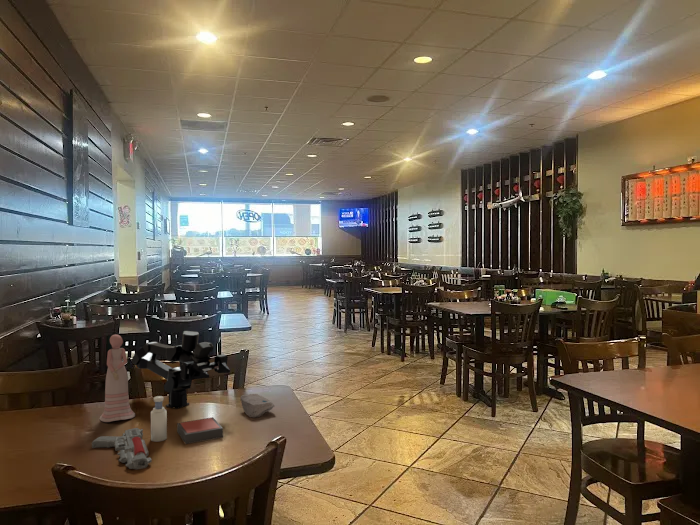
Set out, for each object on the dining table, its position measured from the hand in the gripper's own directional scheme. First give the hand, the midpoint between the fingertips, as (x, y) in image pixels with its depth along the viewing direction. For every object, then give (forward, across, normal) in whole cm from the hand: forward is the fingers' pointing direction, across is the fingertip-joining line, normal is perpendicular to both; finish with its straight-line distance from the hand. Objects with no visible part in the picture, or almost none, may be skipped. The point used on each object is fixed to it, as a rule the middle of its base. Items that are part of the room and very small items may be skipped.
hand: (219, 373), depth 184 cm
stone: (+7, +14, +16) cm, 22 cm away
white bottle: (+2, -24, +17) cm, 29 cm away
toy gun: (+4, -38, +17) cm, 42 cm away
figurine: (-28, -21, +21) cm, 41 cm away
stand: (+9, -13, +16) cm, 22 cm away
